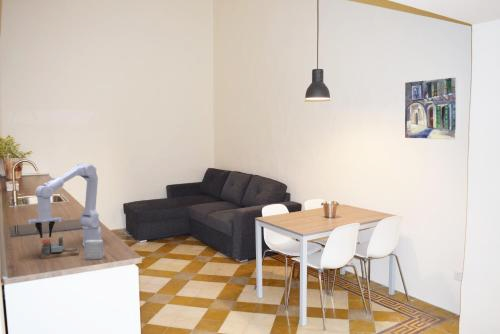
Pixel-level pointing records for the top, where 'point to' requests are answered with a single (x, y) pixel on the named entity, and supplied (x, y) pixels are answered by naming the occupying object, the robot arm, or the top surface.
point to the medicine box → (93, 249)
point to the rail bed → (66, 252)
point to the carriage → (57, 246)
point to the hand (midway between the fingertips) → (45, 237)
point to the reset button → (46, 241)
